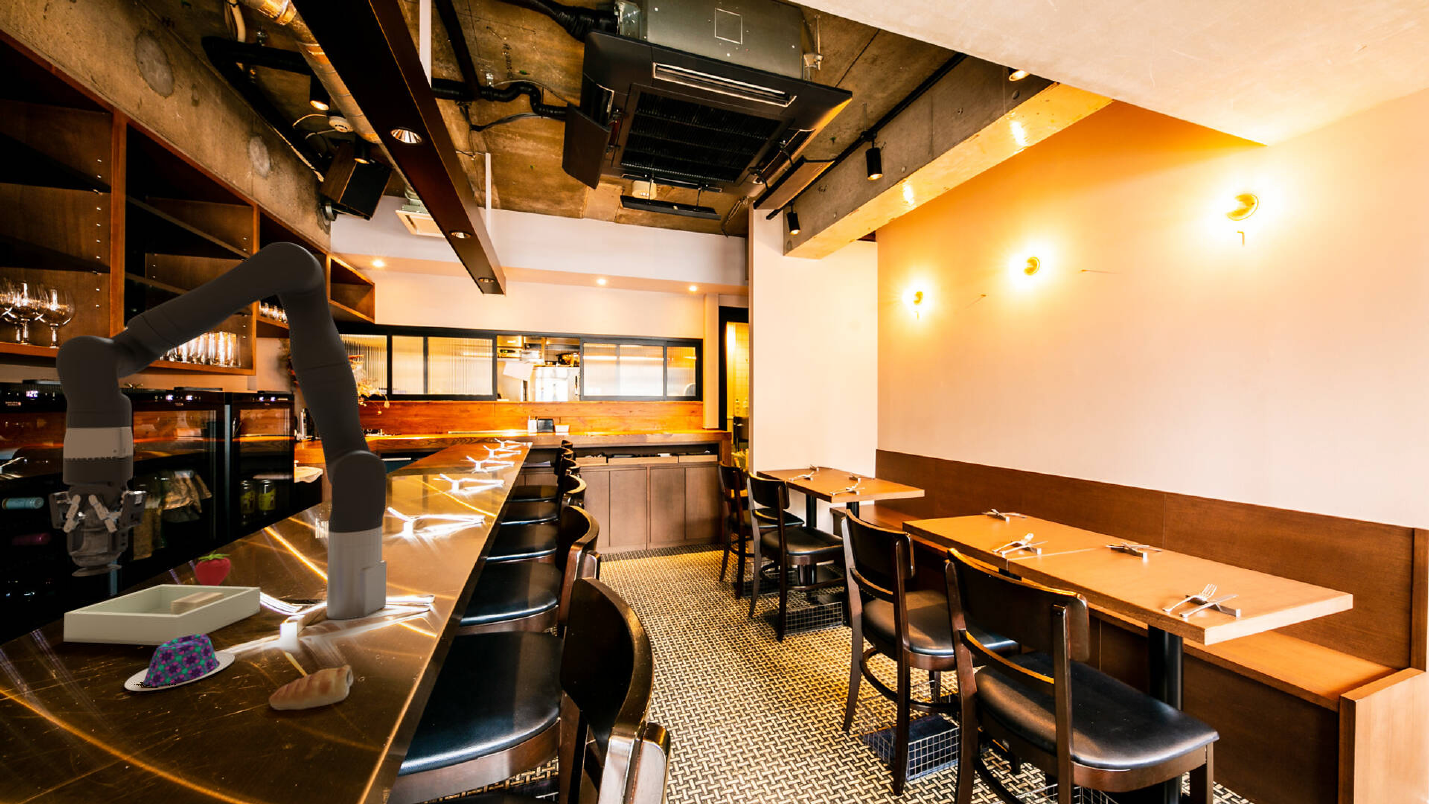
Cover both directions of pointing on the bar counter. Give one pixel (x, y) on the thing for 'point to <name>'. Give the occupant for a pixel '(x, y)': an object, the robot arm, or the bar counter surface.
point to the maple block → (194, 602)
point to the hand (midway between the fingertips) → (97, 552)
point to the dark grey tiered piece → (94, 548)
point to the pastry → (314, 689)
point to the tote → (158, 615)
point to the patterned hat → (180, 663)
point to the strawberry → (212, 569)
